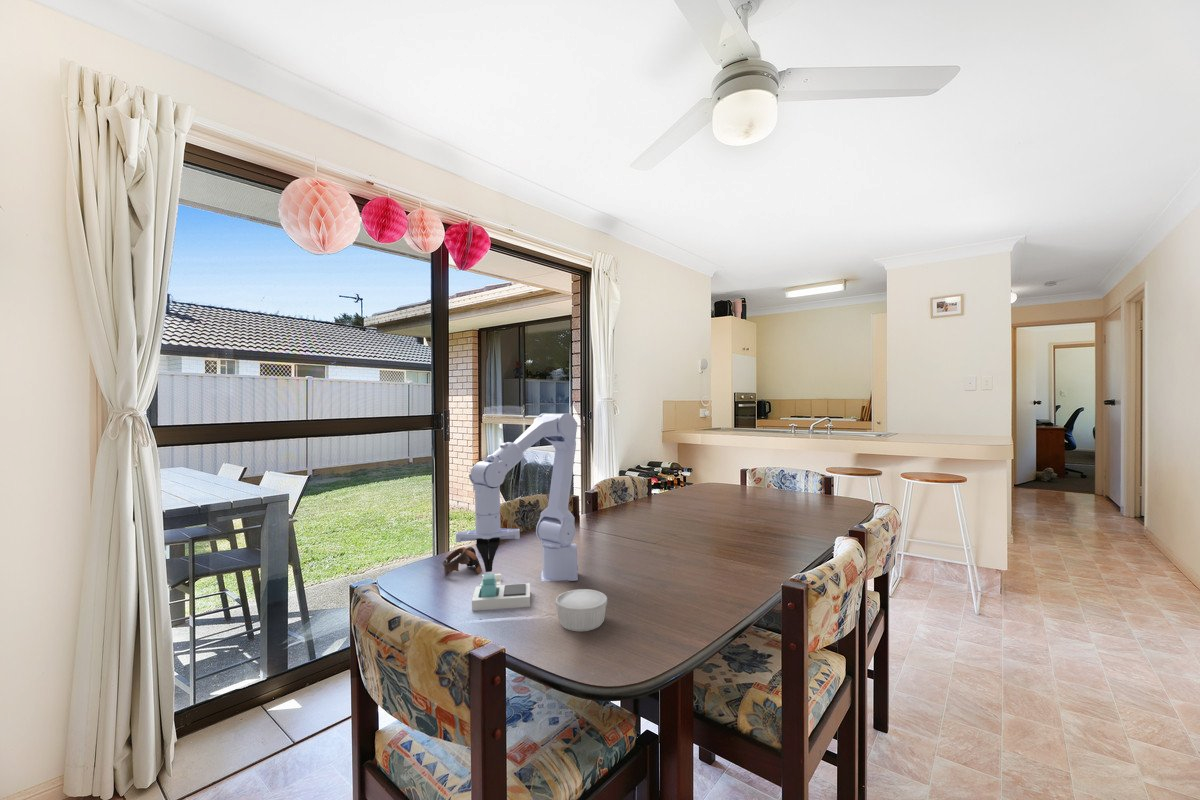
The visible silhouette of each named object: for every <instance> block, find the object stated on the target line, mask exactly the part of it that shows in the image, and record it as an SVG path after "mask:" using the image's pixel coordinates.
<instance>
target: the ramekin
mask: <svg viewBox="0 0 1200 800" xmlns="http://www.w3.org/2000/svg"><path fill="white" fill-rule="evenodd" d="M554 604H555V606H556V611H557V615H558V616H557V617H558V620H559V624H560V625H561V626H562V627H563V628H564V629H566V630H569V631H572V632H581V633H582V632H589V631H593V630H596V629H598V628H599V627H600V626H601V625H602V624H603V622H604V620H605V618H606V617H605V616H606V608H607V605H608V596H607V595H606V594H605V593H603V592H601V591H599V590H595V589H585V588H580V589H579V588H578V589H572V590H568V591H565V592H562V593H560V594H559V595H557V597H555V603H554Z"/></svg>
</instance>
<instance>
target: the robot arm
mask: <svg viewBox="0 0 1200 800" xmlns="http://www.w3.org/2000/svg"><path fill="white" fill-rule="evenodd" d="M577 432H578V422H577V421H576V419H575V417H574V416H573V415H572V414H570V413H567V412H565V413H548V412H543V413H541V414H540V413H539V415H538V416H537V417H535V418H533V423H532V424H531V425H530V426H529V427H528V428H526V430H525V431H524V432H522V434H520V435H519V436H518V437H517V438H516V439H515V440H514V441H513V442H511V441H507V442H502V443H501V444H500V445H499V448H497V449H496V451H494V452H493V453H491V454H488V455H487V456H486V459H485V460H482V461H481V460H480V461H478V462H476V463H475V464H474V465H473V466H472V468H471V471H470V473H469V474H468V477H469V480H470V482H471V483H472V485H473V491H474V504H475V505H474V508H475V509H474V510H475V511H474V512H475V513H474V515H475V516H474V517H475V529H474V530H473V529H472V530H465V531H464V530H463V531H457V532H456V534H455V542H456V543H461V542H472V541H473V542H475V541H476V542H475V543H476V544H475V546H476V549H477V550H478V552H479V554H480V557H481V558H482V561H483V565H484V568H485V573H490V572H492V570H493V566H494V565H493V564H494V559H495V556H496V553H497V551H498V548H499V546H500V543H501V540H508V539H510V540H511V539H515V540H520V533H521V532H520V528H501V491H500V489H501V487H500V486H501V485H502V484H504V482H505V479H506V476H507V474H508V472H510V471H511V470H512V469H513V468H514V467H515V466H516V465H518V464H519V463H520V462H521V461H522V459H523V453H524V452H526V451H527V450H528V449H529V448H531V447H532V446H534V444H536V443H537V442H539V441H540V440H541V439H543V438H544V439H545V440H546V441H548V442H549V443H550V444H551V445H552V446H553V448H554V449H555V451H554V458H553V464H552V465H553V467H552V474H551V482H550V488H549V495H548V503H547V507H546V508H545V509H543V510H542V511H541V512H540V515H539V516H540V517H539V519H538V522H537V524H536V526H535V534H536V537H537V538H538V540H540V544H542V545H541V546H542V570H541V571H540V576H541V577H540V578H541V582H555V581H556V582H559V581H568V582H575V581H578V580H579V578H578V576H579V575H578V573H579V572H578V571H579V565H578V548H577V543H576V542H574V543H573V541H574V540H575V538H576V537H575V536H576V527H575V516H574V515H573V513H572V512H571V511H570V509H569V504H570V503H569V502H570V496H571V488H572V487H571V486H572V481H573V480H572V478H573V471H574V463H575V455H576V448H577Z"/></svg>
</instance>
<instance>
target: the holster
mask: <svg viewBox="0 0 1200 800" xmlns="http://www.w3.org/2000/svg"><path fill="white" fill-rule="evenodd" d="M494 574H495V578H496V583H497V585H502V573H494ZM483 578H484V574H481V583H479V586H481V585H482V580H483Z"/></svg>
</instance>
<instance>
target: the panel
mask: <svg viewBox="0 0 1200 800" xmlns="http://www.w3.org/2000/svg"><path fill="white" fill-rule="evenodd" d="M529 607H531V583H530V582H525V583H510V584H501V585H497V597H482V598H481V586H480V585H477V586H475V588H474V591H473V595H472V599H471V611H473V612H474V611H486V610H487V611H488V610H501V609H502V610H503V609H515V608H516V609H517V608H529Z"/></svg>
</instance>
